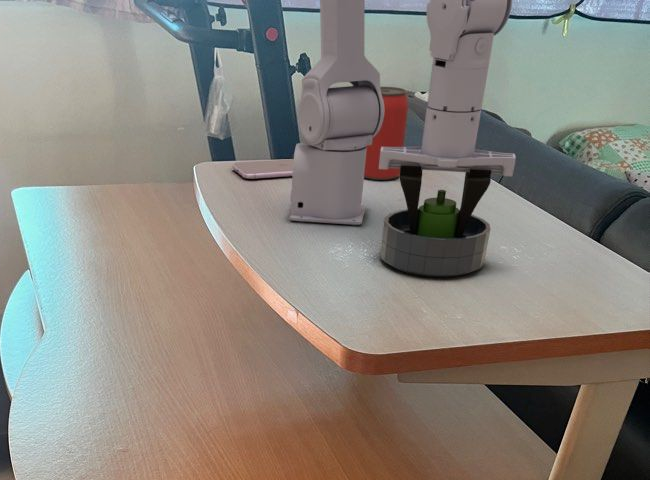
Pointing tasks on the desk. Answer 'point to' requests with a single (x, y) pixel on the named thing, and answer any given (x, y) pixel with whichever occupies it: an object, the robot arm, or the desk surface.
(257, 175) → the mobile phone
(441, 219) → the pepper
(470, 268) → the bowl
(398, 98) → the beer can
